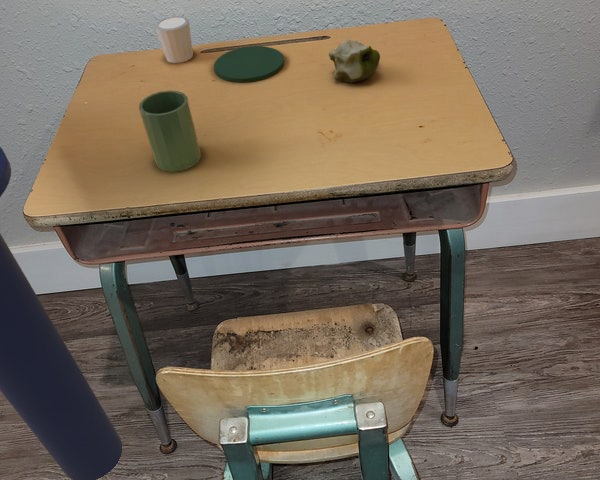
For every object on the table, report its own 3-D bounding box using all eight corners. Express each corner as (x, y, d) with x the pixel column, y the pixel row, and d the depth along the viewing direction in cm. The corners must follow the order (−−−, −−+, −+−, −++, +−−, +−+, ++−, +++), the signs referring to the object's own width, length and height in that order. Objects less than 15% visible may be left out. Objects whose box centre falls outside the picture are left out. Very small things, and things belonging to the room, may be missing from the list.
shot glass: (197, 61, 122) (189, 26, 117) (163, 66, 122) (155, 32, 117) (194, 47, 127) (187, 13, 122) (162, 52, 126) (154, 18, 121)
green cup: (165, 177, 94) (148, 120, 87) (149, 156, 99) (132, 100, 92) (207, 161, 96) (194, 104, 89) (191, 141, 101) (177, 85, 94)
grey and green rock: (383, 90, 110) (380, 52, 103) (333, 97, 111) (327, 61, 105) (378, 58, 115) (376, 20, 108) (331, 66, 116) (325, 29, 110)
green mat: (232, 89, 112) (231, 85, 112) (203, 63, 121) (203, 59, 121) (296, 68, 116) (296, 64, 116) (264, 43, 125) (264, 39, 125)
